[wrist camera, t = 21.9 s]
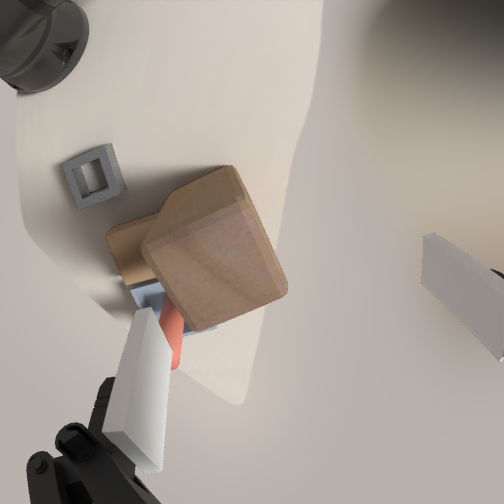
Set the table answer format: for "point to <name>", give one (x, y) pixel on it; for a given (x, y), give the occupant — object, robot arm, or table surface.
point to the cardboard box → (131, 249)
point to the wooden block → (213, 251)
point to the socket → (79, 183)
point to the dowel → (172, 329)
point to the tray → (155, 300)
